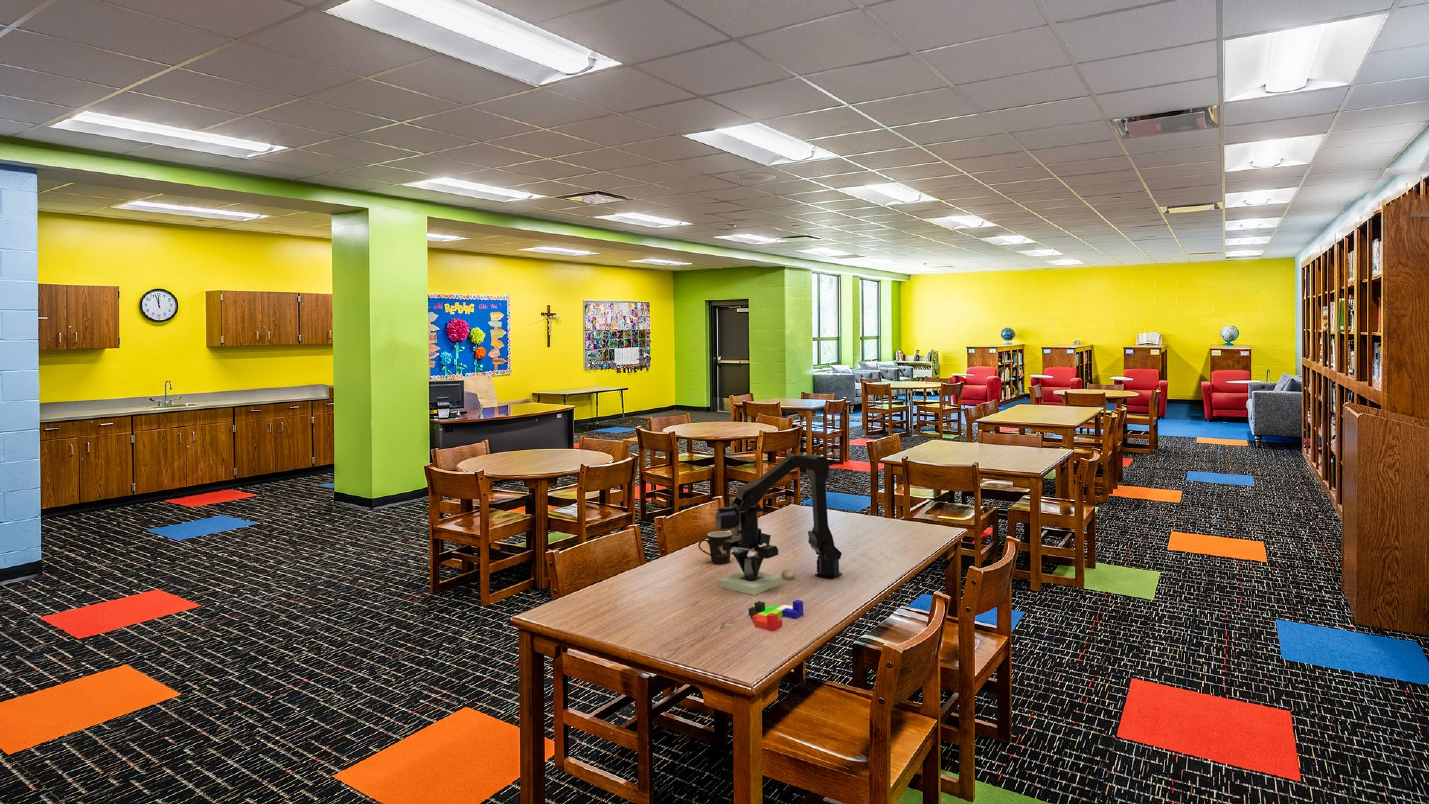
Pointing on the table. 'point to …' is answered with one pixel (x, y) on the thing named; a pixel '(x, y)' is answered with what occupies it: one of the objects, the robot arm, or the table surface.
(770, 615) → the building blocks
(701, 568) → the table surface
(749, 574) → the long steel pin
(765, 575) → the hole board
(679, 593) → the table surface
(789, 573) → the short birch pin
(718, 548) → the coffee mug
